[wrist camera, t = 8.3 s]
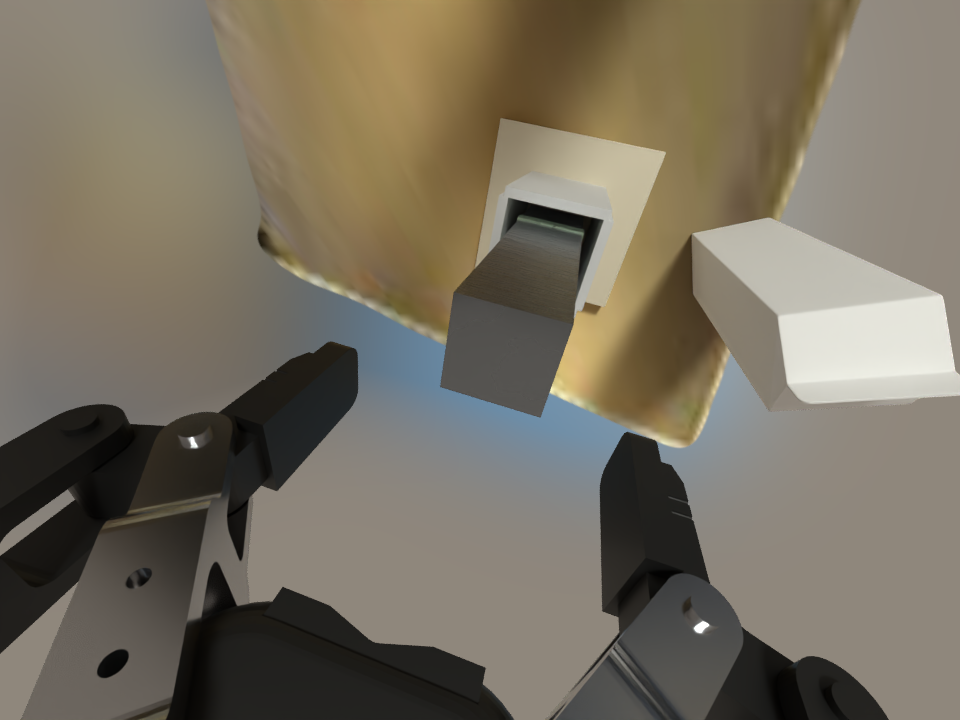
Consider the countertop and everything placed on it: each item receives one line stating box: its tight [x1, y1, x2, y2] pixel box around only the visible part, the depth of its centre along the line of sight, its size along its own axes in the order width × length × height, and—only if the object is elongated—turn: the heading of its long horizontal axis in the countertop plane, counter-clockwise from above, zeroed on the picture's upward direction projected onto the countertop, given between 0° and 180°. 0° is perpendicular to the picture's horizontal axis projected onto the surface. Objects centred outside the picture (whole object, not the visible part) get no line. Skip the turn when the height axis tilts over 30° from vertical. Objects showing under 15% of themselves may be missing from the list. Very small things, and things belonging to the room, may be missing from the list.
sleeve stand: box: [475, 118, 666, 318], centre depth 30 cm, size 14×14×15 cm
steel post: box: [440, 205, 584, 417], centre depth 21 cm, size 5×4×19 cm
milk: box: [692, 218, 960, 412], centre depth 25 cm, size 6×6×22 cm
